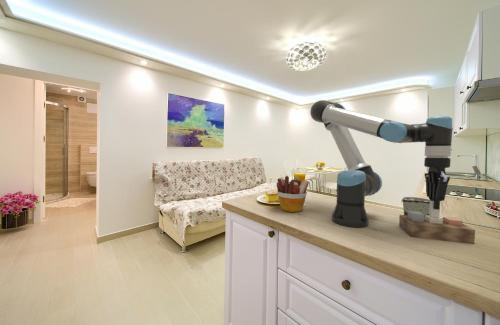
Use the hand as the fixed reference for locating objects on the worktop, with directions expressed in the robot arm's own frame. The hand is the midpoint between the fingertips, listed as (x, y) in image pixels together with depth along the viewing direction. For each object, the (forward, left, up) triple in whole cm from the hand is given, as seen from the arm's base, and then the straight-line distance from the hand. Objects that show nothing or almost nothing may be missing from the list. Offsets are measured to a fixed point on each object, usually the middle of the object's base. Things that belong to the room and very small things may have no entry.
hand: (434, 216), depth 82 cm
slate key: (-6, 0, -4) cm, 7 cm away
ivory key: (0, 0, -5) cm, 5 cm away
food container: (+1, +20, -7) cm, 21 cm away
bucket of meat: (-58, +16, -7) cm, 60 cm away
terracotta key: (+6, 0, -5) cm, 8 cm away
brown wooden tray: (0, 0, -7) cm, 7 cm away
